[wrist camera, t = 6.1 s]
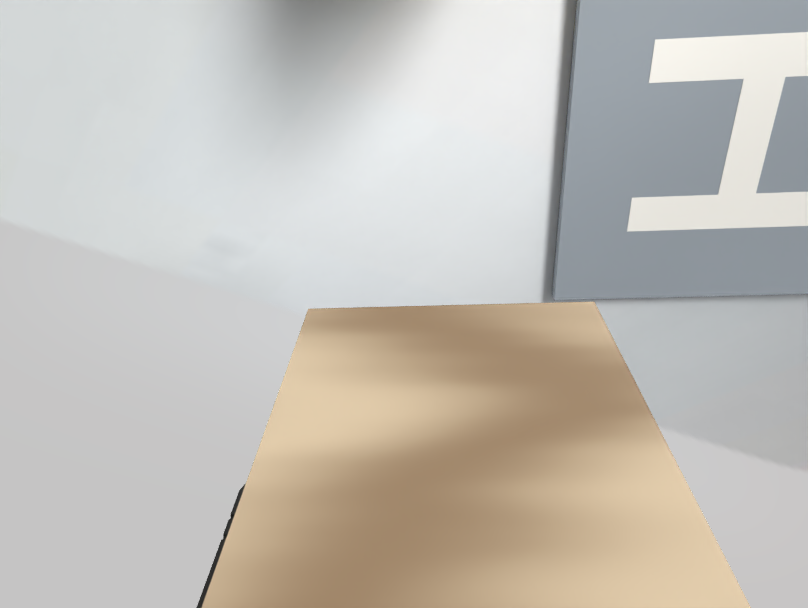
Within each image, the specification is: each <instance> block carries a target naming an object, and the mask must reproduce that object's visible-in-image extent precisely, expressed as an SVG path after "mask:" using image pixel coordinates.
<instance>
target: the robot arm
mask: <svg viewBox="0 0 808 608" xmlns="http://www.w3.org/2000/svg"><path fill="white" fill-rule="evenodd" d="M245 485H246V484H245ZM245 485H244V486H243V487H242V488H241V489H240V491H239V493H238V496H237V499H236V502H235V504H234V507H233V510H232V512H231V519H229V521H228V523H227V526H226V529H225V531H224V538H223V540H221V542H220V545H219V548H218V551H217V553H216V557H215V559H214V562H213V564H212V567H211V570H210V573H209V576H208V578H207V581H206V584H205V586H204V589H203V592H202V595H201V597H200V600H199V603H198V606H197V608H202V605H203V602H204V599H205V597H206V594H207V591H208V588H209V585H210V583H211V580H212V577H213V574H214V571H215V569H216V566H217V563H218V560H219V557H220V555H221V552H222V549H223V546H224V543H225V541H226V538H227V535H228V532H229V529H230V527H231V524H232V521H233V518H234V515H235V513H236V510H237V507H238V504H239V501H240V499H241V496H242V493H243V490H244V487H245Z"/></svg>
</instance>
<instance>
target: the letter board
mask: <svg viewBox="0 0 808 608" xmlns="http://www.w3.org/2000/svg"><path fill="white" fill-rule="evenodd" d="M783 294H808V0H577V6H576V18H575V30H574V42H573V54H572V65H571V77H570V89H569V101H568V113H567V125H566V136H565V148H564V160H563V172H562V184H561V196H560V207H559V219H558V231H557V243H556V255H555V267H554V278H553V290H552V295H553V298H554V300H581V299H622V298H662V297H702V296H742V295H783Z"/></svg>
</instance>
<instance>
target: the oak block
mask: <svg viewBox="0 0 808 608" xmlns="http://www.w3.org/2000/svg"><path fill="white" fill-rule="evenodd" d="M202 608H751V607H750V605H749V603H748V601H747V599H746V597H745V595H744V593H743V591H742V589H741V588H740V586H739V584H738V582H737V580H736V578H735V576H734V574H733V572H732V570H731V568H730V566H729V564H728V562H727V560H726V558H725V556H724V554H723V552H722V551H721V548H720V546H719V545H718V543H717V541H716V539H715V537H714V535H713V533H712V531H711V529H710V527H709V525H708V523H707V521H706V519H705V517H704V515H703V513H702V511H701V509H700V508H699V505H698V503H697V502H696V500H695V498H694V496H693V494H692V492H691V490H690V488H689V486H688V484H687V482H686V480H685V478H684V476H683V474H682V472H681V470H680V469H679V466H678V465H677V463H676V460H675V459H674V457H673V455H672V453H671V451H670V449H669V447H668V445H667V443H666V441H665V439H664V437H663V435H662V433H661V431H660V429H659V427H658V425H657V423H656V421H655V419H654V418H653V416H652V414H651V412H650V410H649V408H648V406H647V404H646V402H645V400H644V398H643V396H642V394H641V392H640V390H639V388H638V386H637V384H636V382H635V380H634V378H633V376H632V375H631V373H630V371H629V369H628V367H627V365H626V363H625V361H624V359H623V357H622V355H621V353H620V351H619V349H618V347H617V345H616V343H615V341H614V339H613V337H612V335H611V333H610V332H609V330H608V328H607V326H606V324H605V322H604V320H603V318H602V316H601V314H600V312H599V310H598V308H597V306H596V304H595V302H560V303H520V304H481V305H441V306H401V307H361V308H321V309H308V311H307V314H306V317H305V320H304V322H303V325H302V328H301V331H300V334H299V336H298V339H297V342H296V345H295V348H294V350H293V353H292V356H291V359H290V362H289V364H288V367H287V370H286V373H285V376H284V379H283V381H282V384H281V387H280V390H279V392H278V395H277V398H276V401H275V404H274V407H273V409H272V412H271V415H270V418H269V420H268V423H267V426H266V429H265V432H264V435H263V437H262V440H261V443H260V446H259V449H258V451H257V454H256V457H255V460H254V462H253V465H252V468H251V471H250V474H249V476H248V479H247V482H246V485H245V487H244V490H243V493H242V496H241V499H240V501H239V504H238V507H237V510H236V513H235V515H234V518H233V521H232V524H231V527H230V529H229V532H228V535H227V538H226V541H225V543H224V546H223V549H222V552H221V555H220V557H219V560H218V563H217V566H216V569H215V571H214V574H213V577H212V580H211V583H210V585H209V588H208V591H207V594H206V597H205V599H204V602H203V605H202Z"/></svg>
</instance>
